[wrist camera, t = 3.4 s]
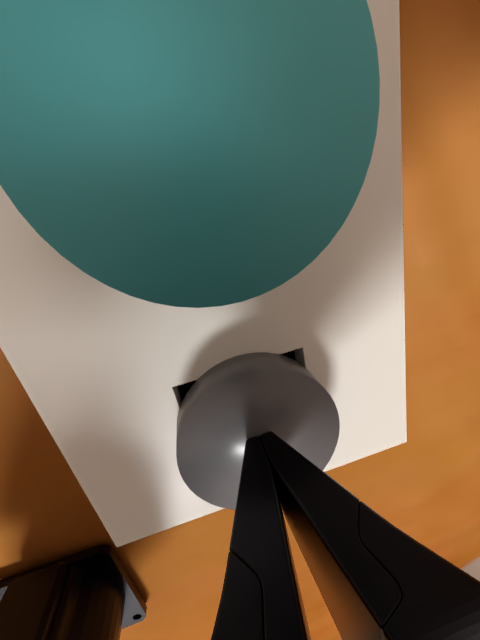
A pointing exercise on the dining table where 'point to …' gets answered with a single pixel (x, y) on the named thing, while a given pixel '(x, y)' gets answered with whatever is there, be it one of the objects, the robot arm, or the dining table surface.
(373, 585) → the robot arm
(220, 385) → the knob
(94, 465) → the knob mount
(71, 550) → the dining table surface
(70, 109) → the middle knob
